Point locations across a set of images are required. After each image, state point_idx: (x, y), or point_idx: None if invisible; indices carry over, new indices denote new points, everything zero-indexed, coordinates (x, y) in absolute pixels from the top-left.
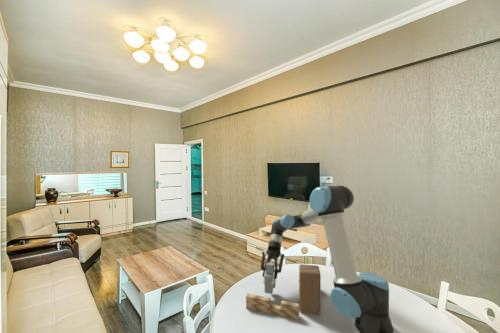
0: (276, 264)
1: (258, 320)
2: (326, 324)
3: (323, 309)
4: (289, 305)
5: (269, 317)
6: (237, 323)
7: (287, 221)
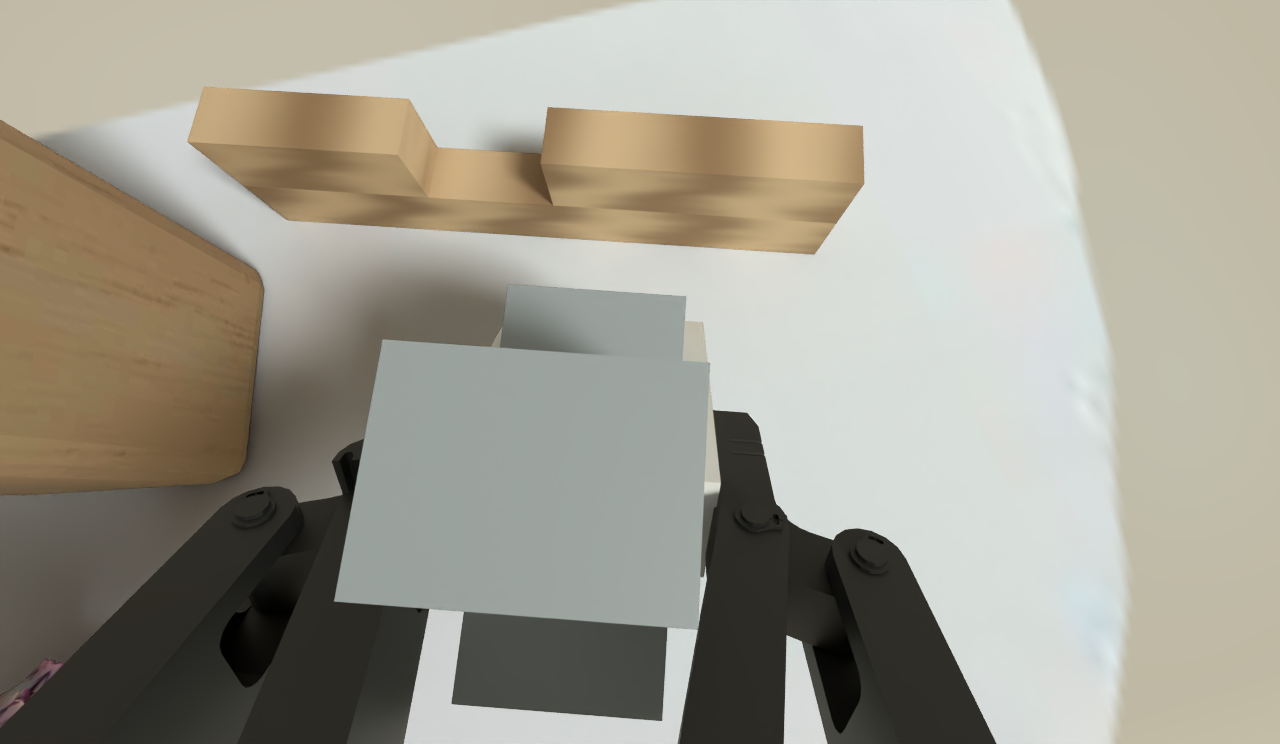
0: (276, 689)
1: (650, 82)
2: None
3: None
4: (308, 96)
5: None
6: (811, 12)
7: None
